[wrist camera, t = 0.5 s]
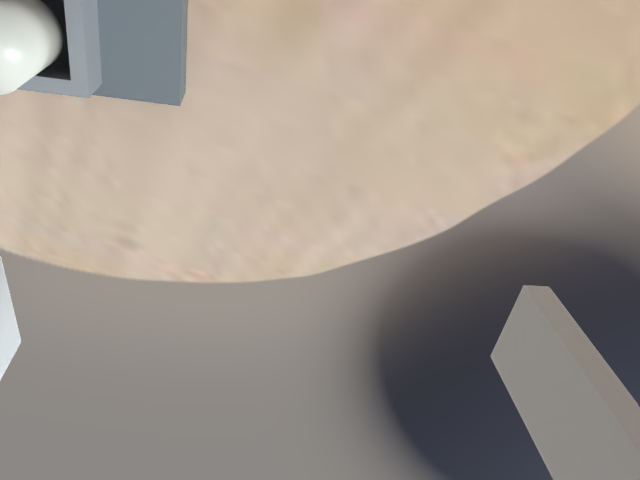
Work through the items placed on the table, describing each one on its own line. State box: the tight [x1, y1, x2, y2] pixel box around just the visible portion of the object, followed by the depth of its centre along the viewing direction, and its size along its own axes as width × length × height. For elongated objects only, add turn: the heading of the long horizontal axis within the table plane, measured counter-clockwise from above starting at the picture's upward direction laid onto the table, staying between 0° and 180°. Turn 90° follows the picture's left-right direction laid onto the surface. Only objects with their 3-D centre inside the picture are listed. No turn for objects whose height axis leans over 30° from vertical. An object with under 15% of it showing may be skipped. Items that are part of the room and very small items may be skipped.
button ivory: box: [0, 0, 63, 95], centre depth 25 cm, size 4×4×5 cm
